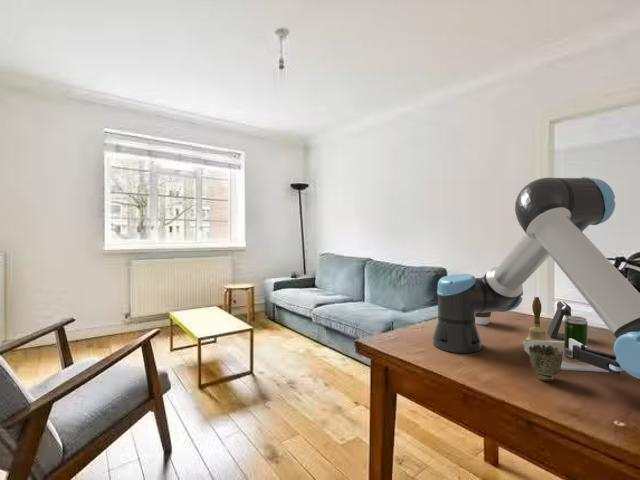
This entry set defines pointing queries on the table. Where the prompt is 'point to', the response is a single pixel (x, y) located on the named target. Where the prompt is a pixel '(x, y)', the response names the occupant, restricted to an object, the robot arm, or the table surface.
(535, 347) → the cup
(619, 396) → the table surface
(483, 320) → the coffee cup
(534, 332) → the hand bell
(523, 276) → the robot arm
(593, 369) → the tray
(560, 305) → the phone stand
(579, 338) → the beer can
